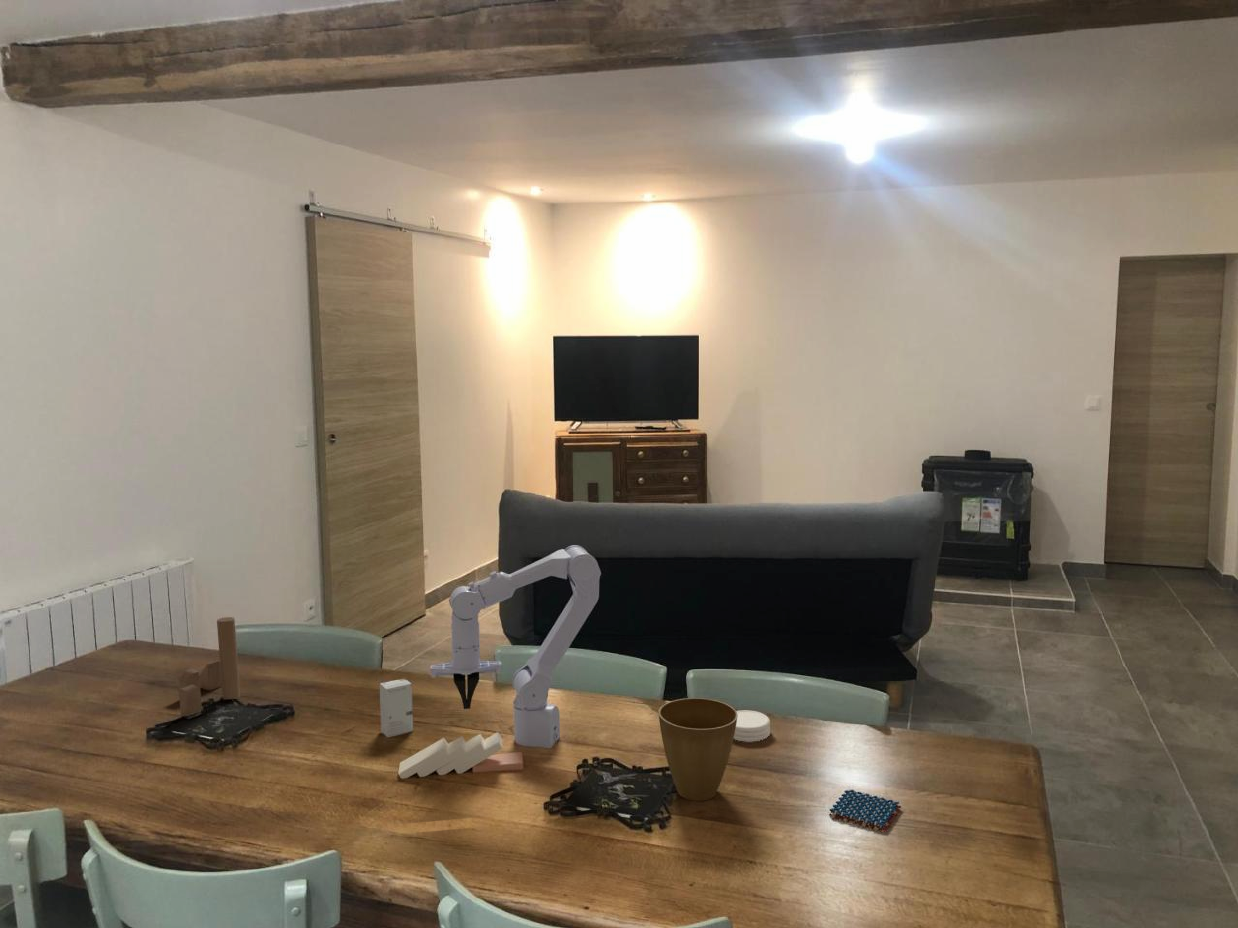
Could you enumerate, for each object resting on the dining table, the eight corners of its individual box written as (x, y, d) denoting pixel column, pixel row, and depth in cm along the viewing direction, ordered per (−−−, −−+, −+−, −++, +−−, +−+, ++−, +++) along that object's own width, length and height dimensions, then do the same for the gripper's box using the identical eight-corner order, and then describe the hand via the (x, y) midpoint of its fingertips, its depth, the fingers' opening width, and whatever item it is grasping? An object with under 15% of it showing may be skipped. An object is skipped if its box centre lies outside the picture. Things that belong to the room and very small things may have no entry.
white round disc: (719, 739, 201) (719, 724, 201) (730, 721, 210) (730, 706, 210) (764, 746, 198) (764, 730, 197) (774, 727, 207) (774, 712, 206)
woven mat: (886, 836, 162) (886, 825, 162) (827, 820, 168) (827, 809, 167) (903, 810, 171) (903, 800, 170) (846, 796, 176) (847, 786, 176)
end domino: (472, 763, 189) (522, 759, 191) (472, 774, 184) (523, 770, 186) (472, 755, 189) (521, 751, 191) (472, 766, 184) (523, 762, 186)
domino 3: (441, 765, 189) (484, 739, 189) (440, 776, 184) (484, 750, 184) (437, 759, 188) (480, 733, 189) (436, 770, 183) (480, 743, 184)
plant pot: (685, 818, 168) (684, 734, 166) (645, 784, 181) (644, 706, 179) (752, 799, 175) (753, 718, 173) (709, 767, 188) (709, 691, 186)
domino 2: (422, 767, 188) (465, 742, 189) (420, 778, 183) (465, 752, 184) (418, 760, 188) (461, 735, 188) (416, 772, 183) (461, 746, 183)
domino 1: (404, 768, 187) (448, 743, 188) (402, 780, 182) (447, 754, 183) (400, 762, 187) (444, 737, 188) (398, 773, 182) (443, 748, 183)
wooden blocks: (205, 681, 240) (200, 606, 237) (253, 696, 229) (247, 618, 226) (141, 703, 226) (134, 623, 223) (189, 720, 215) (182, 637, 212)
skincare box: (387, 743, 201) (385, 689, 200) (380, 735, 205) (378, 683, 203) (414, 736, 205) (412, 683, 203) (407, 729, 208) (405, 677, 207)
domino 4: (458, 763, 189) (501, 738, 190) (458, 775, 184) (502, 748, 185) (454, 757, 189) (497, 731, 189) (454, 768, 184) (498, 742, 185)
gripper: (429, 652, 188) (431, 716, 190) (501, 648, 191) (502, 712, 193) (430, 641, 195) (432, 703, 197) (500, 638, 198) (500, 699, 200)
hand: (466, 707), depth 195 cm, fingers closed
